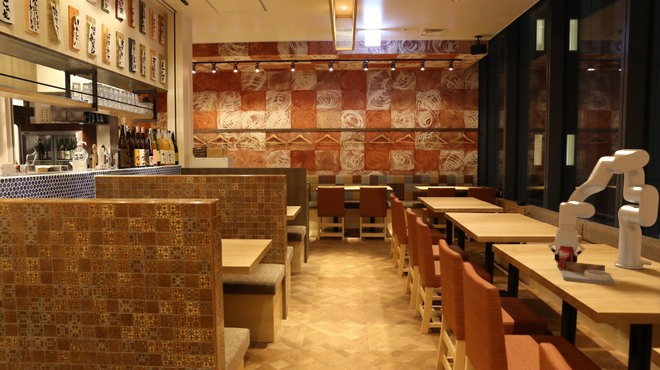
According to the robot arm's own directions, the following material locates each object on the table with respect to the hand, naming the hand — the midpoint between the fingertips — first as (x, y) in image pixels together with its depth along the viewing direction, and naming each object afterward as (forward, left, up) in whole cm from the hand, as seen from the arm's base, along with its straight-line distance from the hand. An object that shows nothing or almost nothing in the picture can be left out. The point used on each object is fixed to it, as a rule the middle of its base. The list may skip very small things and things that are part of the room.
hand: (565, 262), depth 227 cm
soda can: (0, 0, -4) cm, 4 cm away
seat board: (-8, +17, -3) cm, 19 cm away
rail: (-8, +7, -3) cm, 11 cm away
